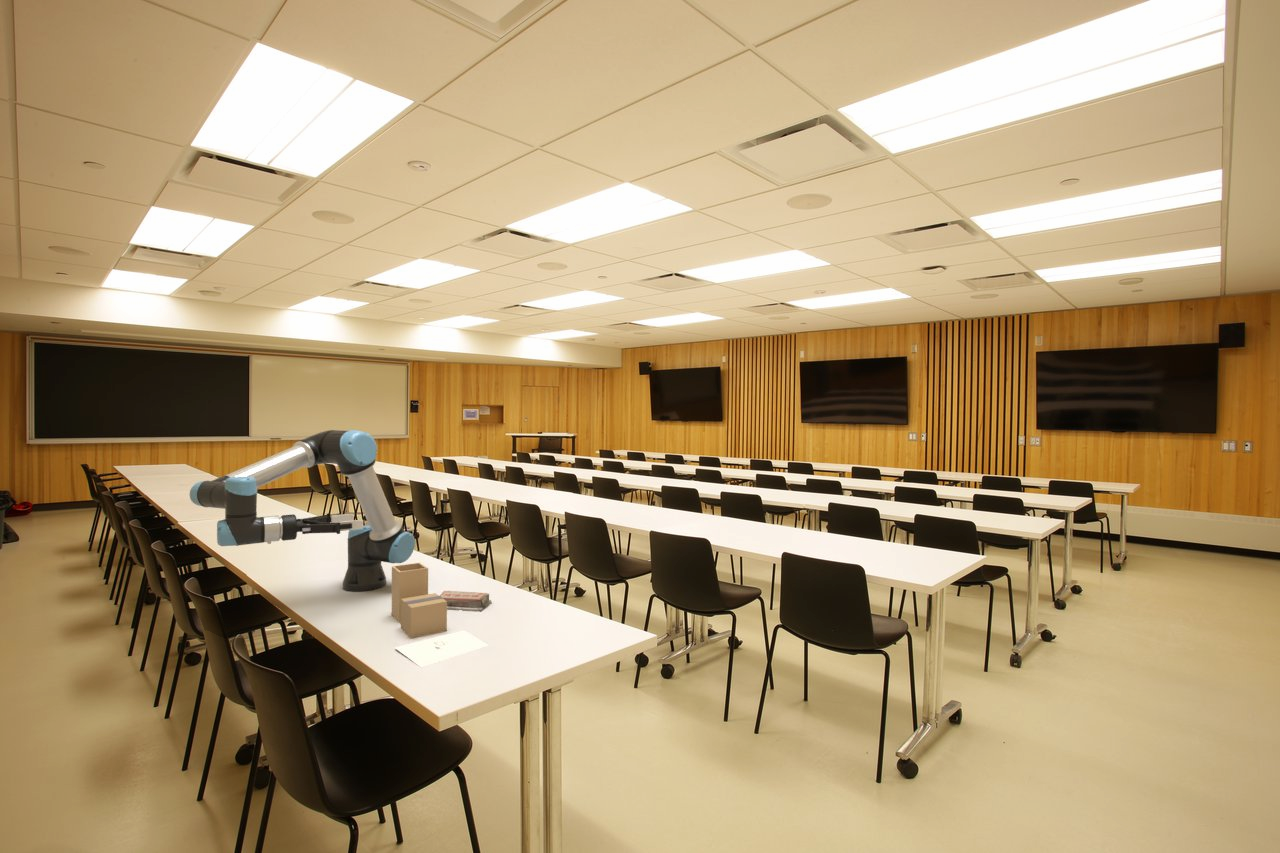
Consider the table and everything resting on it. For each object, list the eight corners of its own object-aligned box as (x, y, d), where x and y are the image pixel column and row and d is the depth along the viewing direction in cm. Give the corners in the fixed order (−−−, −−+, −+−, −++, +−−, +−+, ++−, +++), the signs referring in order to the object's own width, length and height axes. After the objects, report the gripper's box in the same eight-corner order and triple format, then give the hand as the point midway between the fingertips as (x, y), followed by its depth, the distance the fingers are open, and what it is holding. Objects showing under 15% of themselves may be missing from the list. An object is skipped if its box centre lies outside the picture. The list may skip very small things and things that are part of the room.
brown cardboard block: (400, 627, 184) (400, 598, 184) (435, 621, 191) (435, 592, 190) (410, 638, 176) (411, 607, 176) (446, 630, 182) (447, 601, 182)
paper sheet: (472, 631, 183) (472, 627, 183) (515, 666, 160) (515, 662, 160) (392, 648, 168) (392, 644, 168) (427, 689, 146) (427, 685, 146)
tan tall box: (391, 614, 196) (391, 566, 196) (419, 609, 202) (419, 562, 201) (399, 622, 189) (399, 572, 189) (427, 617, 194) (428, 568, 194)
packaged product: (492, 590, 210) (481, 599, 200) (492, 604, 210) (480, 613, 200) (444, 587, 213) (430, 596, 203) (444, 601, 213) (430, 610, 203)
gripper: (275, 533, 187) (349, 526, 200) (286, 548, 167) (367, 539, 180) (275, 509, 187) (349, 504, 200) (286, 521, 167) (367, 514, 180)
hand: (358, 520), depth 190 cm, fingers open, 13 cm apart
